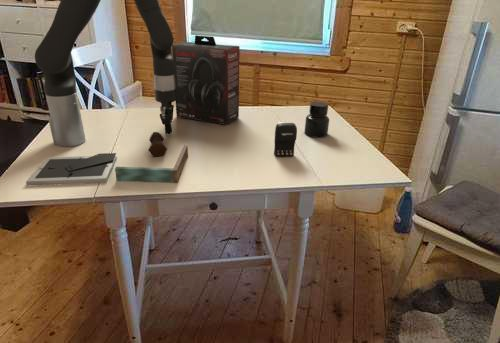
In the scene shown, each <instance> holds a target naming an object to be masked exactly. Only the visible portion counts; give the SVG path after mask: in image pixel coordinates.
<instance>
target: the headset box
mask: <svg viewBox="0 0 500 343" xmlns="http://www.w3.org/2000/svg"><path fill="white" fill-rule="evenodd" d="M204 39H205V40H204ZM240 51H241V50H240V45H229V44H228V45H227V44H217V43H216V40H215V37H214V36H206V35H197V34H195V36H194V42H191V41H184V42H183V41H182V42H178V43H173V45H172V46H171V52H172V58H173V61H174V72H175V79H176V93H177V100H176V101H175V112H176V113H175V114H176V117H177V118H181V119H190V120H196V121H202V122H208V123H213V124H218V125H219V124H220V125H226V126H227V125H228V124H230V123H233V121H235V120H237V119H238V118H239V117H240V116H239V115H240V114H239V113H240V108H239V107H240V106H239V105H240V54H241V53H240Z"/></svg>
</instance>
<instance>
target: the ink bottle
mask: <svg viewBox="0 0 500 343" xmlns="http://www.w3.org/2000/svg"><path fill="white" fill-rule="evenodd" d="M328 111H329V104H328V103H327V102H324V101H311V102H310V104H309V114H307V116H306V117H305V124H304V134H305V135H306V136H308V137H311V138H324V137H327V136H328V133H329V125H330V118H329V116H328Z"/></svg>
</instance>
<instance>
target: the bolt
mask: <svg viewBox="0 0 500 343" xmlns="http://www.w3.org/2000/svg"><path fill="white" fill-rule="evenodd" d="M149 142H150V146H149V148H148V152H149V153H150V155H151V156H152V158H163V157H164V156H165V155H166V153H167V150H168V148H167V147H166V145H165V144H164V142H165V138H164V136H163V135H162V134H161V133H160V132H158V131H153V132H152V133H151V135H150V137H149Z"/></svg>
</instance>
